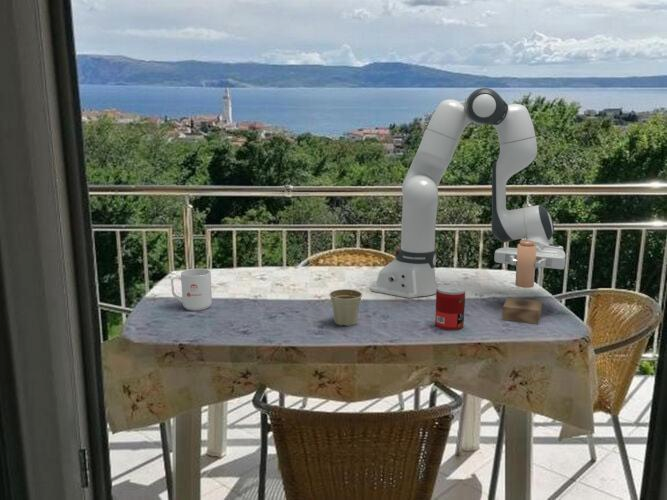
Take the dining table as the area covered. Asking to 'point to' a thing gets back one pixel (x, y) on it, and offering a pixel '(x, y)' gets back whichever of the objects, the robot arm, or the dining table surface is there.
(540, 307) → the pedestal
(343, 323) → the flower pot
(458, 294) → the canned food
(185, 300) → the mug
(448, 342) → the dining table surface
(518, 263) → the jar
